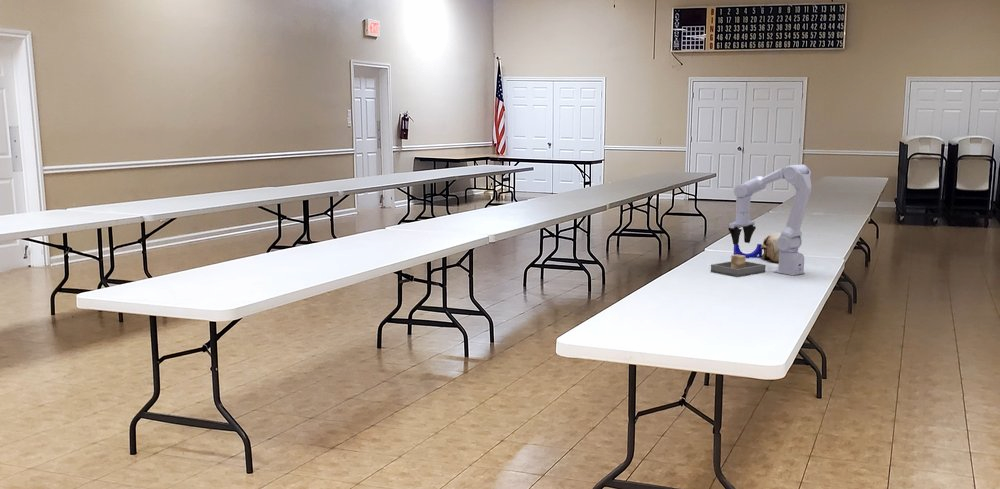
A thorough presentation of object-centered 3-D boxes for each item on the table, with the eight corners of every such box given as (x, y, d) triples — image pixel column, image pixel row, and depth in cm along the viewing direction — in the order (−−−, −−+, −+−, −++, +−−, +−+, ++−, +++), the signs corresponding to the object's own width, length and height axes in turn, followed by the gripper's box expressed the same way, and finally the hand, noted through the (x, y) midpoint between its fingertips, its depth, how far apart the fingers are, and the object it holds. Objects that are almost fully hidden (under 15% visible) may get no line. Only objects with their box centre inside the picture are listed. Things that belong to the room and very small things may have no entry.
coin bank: (768, 255, 384) (772, 226, 381) (803, 264, 371) (807, 235, 368) (748, 260, 374) (752, 231, 371) (783, 270, 362) (787, 240, 358)
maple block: (744, 270, 345) (745, 255, 344) (738, 271, 343) (739, 256, 342) (736, 268, 348) (737, 254, 347) (730, 269, 346) (731, 255, 345)
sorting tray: (765, 272, 345) (765, 264, 345) (737, 277, 335) (738, 269, 335) (738, 267, 356) (738, 260, 356) (710, 271, 346) (711, 264, 345)
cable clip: (735, 258, 378) (736, 245, 377) (733, 256, 382) (733, 243, 381) (762, 258, 377) (763, 245, 376) (760, 257, 382) (760, 243, 381)
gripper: (745, 209, 364) (744, 240, 366) (724, 212, 356) (722, 243, 358) (759, 211, 358) (758, 242, 361) (737, 213, 350) (736, 246, 352)
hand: (741, 243), depth 359 cm, fingers open, 7 cm apart
